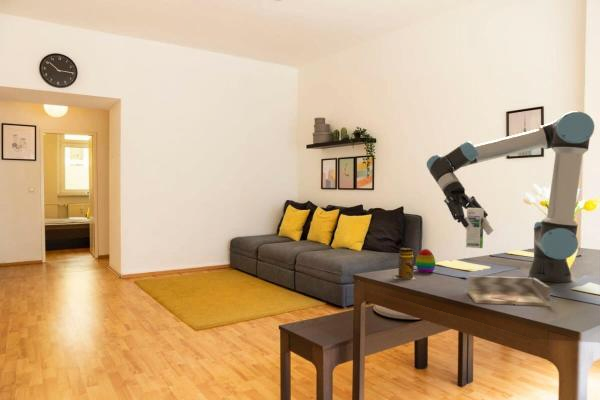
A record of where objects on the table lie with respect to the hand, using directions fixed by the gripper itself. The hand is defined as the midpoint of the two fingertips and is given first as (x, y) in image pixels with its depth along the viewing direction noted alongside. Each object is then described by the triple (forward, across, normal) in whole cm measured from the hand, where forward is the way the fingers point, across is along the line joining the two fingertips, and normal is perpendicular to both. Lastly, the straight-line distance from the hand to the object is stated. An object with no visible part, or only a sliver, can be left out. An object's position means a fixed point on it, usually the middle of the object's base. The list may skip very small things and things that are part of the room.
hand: (481, 232), depth 161 cm
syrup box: (+2, 0, -6) cm, 7 cm away
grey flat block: (+24, +2, -5) cm, 25 cm away
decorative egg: (-9, -4, -39) cm, 40 cm away
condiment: (-5, +12, -35) cm, 38 cm away
